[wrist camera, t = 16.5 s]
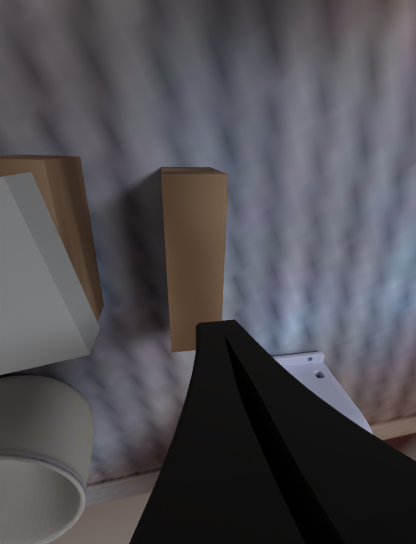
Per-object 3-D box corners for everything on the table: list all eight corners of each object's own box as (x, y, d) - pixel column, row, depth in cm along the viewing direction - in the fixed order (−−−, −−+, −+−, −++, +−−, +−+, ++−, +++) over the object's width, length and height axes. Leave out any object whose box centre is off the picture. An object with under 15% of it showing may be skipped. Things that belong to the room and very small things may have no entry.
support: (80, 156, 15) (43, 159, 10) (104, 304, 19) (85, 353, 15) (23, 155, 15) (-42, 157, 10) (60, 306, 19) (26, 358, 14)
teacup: (-38, 342, 19) (-162, 463, 11) (118, 363, 22) (96, 469, 14) (-37, 461, 24) (-123, 597, 16) (90, 465, 27) (64, 581, 19)
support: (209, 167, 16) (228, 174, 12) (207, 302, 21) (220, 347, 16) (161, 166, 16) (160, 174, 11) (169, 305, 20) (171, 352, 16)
